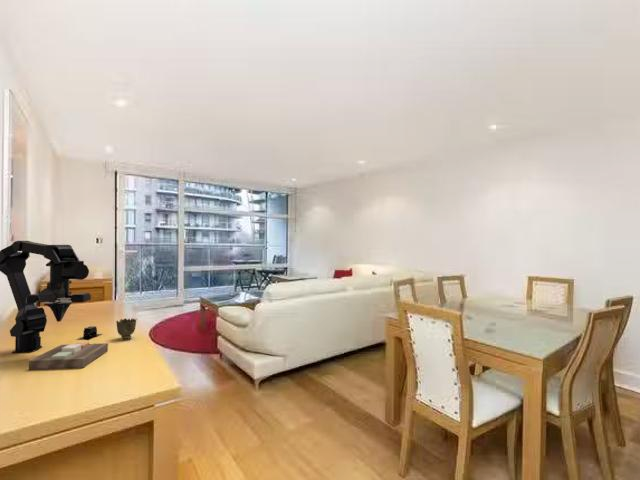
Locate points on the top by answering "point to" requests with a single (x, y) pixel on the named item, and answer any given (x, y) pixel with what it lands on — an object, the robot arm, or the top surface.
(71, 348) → the ivory button
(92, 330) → the black block on base
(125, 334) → the cup
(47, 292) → the robot arm
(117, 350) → the top surface
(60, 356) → the sage button
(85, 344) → the terracotta button
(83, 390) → the top surface
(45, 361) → the brown wooden tray
